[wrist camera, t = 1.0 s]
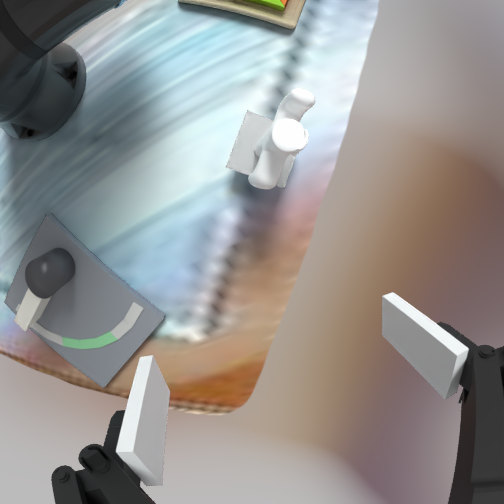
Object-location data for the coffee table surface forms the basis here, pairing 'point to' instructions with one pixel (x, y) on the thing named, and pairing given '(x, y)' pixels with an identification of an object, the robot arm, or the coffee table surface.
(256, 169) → the white faucet
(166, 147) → the coffee table surface
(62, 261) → the white and grey lever
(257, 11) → the wooden puzzle
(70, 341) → the tuner board
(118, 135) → the coffee table surface
